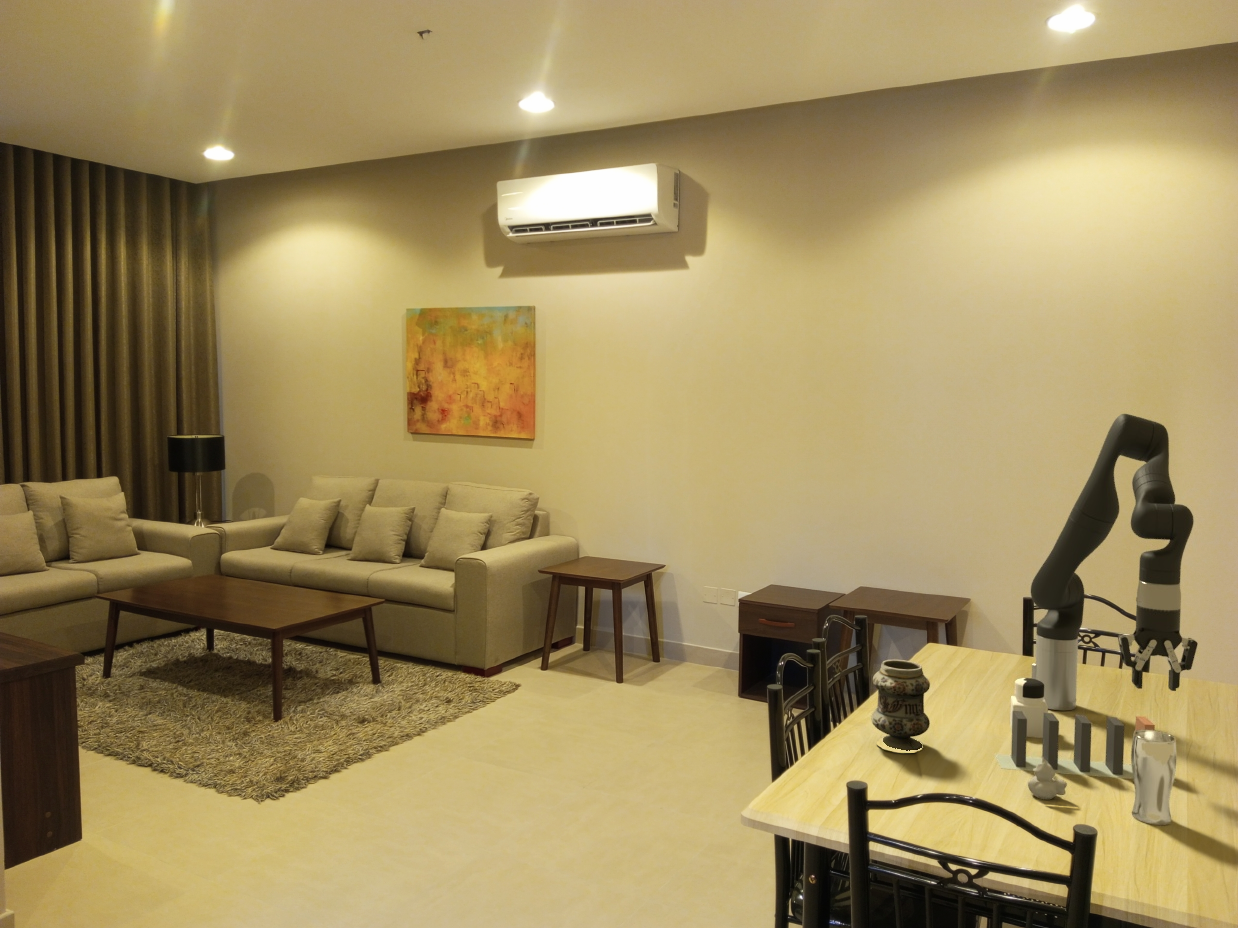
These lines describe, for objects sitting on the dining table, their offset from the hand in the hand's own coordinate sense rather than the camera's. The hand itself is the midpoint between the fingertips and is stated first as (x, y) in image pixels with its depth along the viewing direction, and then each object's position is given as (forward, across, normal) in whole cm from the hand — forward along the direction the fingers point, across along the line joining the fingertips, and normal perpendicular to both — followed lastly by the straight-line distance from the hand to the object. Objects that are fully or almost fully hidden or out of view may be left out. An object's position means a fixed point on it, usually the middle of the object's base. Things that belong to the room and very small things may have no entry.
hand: (1155, 688), depth 183 cm
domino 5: (+17, -1, +2) cm, 17 cm away
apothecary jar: (+18, -48, +5) cm, 51 cm away
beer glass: (+18, -7, -22) cm, 29 cm away
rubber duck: (+18, -23, -17) cm, 34 cm away
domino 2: (+17, -19, 0) cm, 26 cm away
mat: (+17, -13, 0) cm, 22 cm away
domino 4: (+17, -7, 0) cm, 19 cm away
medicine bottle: (+18, -19, +20) cm, 33 cm away
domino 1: (+17, -25, 0) cm, 30 cm away
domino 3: (+17, -13, 0) cm, 22 cm away
